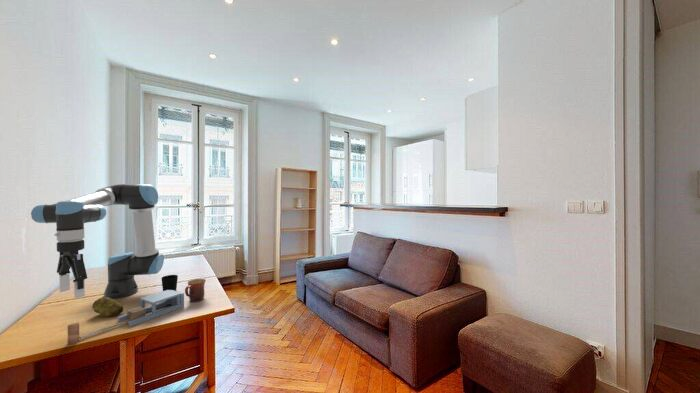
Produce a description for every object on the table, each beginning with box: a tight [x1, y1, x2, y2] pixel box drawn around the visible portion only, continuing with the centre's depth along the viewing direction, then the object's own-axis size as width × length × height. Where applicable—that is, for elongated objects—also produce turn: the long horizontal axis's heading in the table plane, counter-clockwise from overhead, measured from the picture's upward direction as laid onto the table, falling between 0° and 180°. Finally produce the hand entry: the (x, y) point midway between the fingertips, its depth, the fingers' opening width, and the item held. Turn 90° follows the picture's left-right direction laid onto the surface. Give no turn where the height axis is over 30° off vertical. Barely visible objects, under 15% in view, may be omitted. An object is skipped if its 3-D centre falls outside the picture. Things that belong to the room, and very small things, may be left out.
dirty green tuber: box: [92, 296, 124, 317], centre depth 129 cm, size 8×13×8 cm, turn 68°
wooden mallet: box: [67, 306, 146, 346], centre depth 115 cm, size 5×25×7 cm, turn 151°
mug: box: [184, 278, 206, 302], centre depth 146 cm, size 12×9×10 cm
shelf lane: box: [117, 290, 185, 328], centre depth 131 cm, size 11×24×8 cm, turn 153°
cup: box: [161, 274, 179, 291], centre depth 150 cm, size 8×8×12 cm
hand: (72, 294), depth 105 cm, fingers open, 13 cm apart
